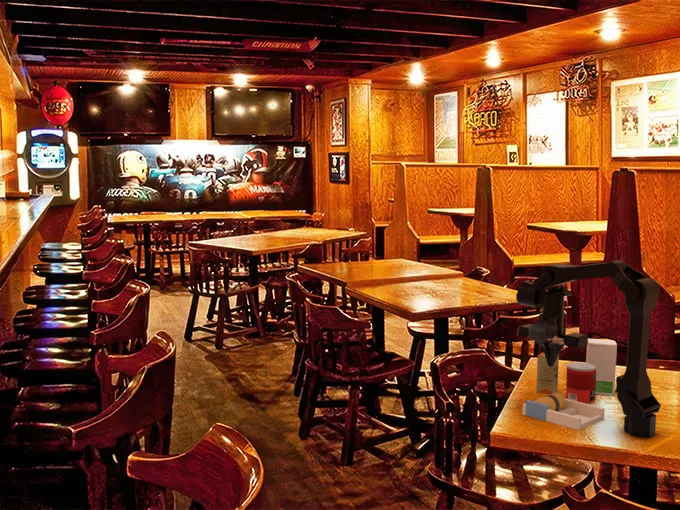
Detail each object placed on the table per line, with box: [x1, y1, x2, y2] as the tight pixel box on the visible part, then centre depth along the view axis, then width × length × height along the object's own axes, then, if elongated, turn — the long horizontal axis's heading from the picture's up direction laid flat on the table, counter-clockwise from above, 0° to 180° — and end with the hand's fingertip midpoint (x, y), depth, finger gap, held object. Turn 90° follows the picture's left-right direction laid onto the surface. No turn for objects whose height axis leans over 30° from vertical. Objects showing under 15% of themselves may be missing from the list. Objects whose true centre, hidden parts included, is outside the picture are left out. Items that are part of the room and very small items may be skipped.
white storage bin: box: [522, 394, 605, 431], centre depth 204 cm, size 17×12×5 cm
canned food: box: [565, 361, 596, 405], centre depth 219 cm, size 8×8×11 cm
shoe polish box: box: [536, 351, 560, 395], centre depth 227 cm, size 5×5×12 cm
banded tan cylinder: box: [534, 392, 566, 411], centre depth 207 cm, size 8×5×5 cm, turn 132°
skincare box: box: [585, 337, 618, 397], centre depth 229 cm, size 8×7×16 cm
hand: (550, 366), depth 210 cm, fingers closed
